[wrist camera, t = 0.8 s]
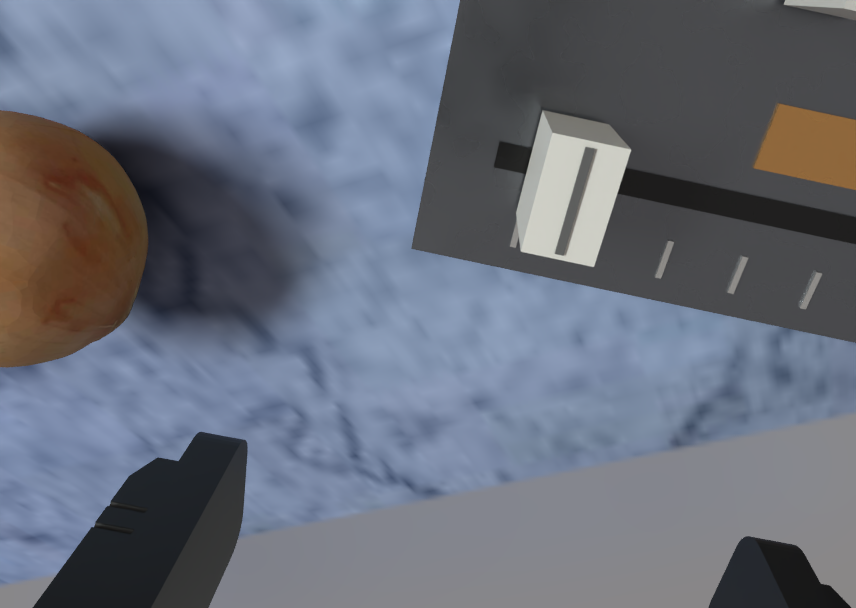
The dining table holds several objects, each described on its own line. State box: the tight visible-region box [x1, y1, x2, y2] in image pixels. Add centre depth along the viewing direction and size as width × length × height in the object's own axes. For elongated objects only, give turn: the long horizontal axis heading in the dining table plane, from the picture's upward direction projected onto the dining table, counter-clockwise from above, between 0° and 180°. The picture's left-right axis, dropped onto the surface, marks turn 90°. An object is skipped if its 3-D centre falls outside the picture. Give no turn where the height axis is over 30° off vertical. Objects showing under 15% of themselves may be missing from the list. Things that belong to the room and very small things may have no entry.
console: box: [411, 0, 856, 343], centre depth 26 cm, size 18×20×2 cm
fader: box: [516, 110, 631, 267], centre depth 25 cm, size 4×2×4 cm, turn 169°
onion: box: [0, 110, 148, 367], centre depth 27 cm, size 10×10×10 cm
